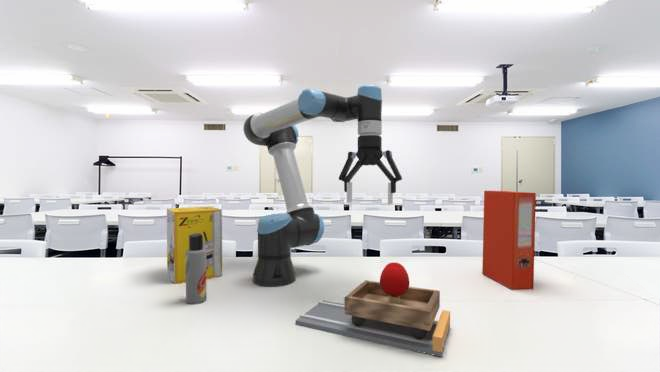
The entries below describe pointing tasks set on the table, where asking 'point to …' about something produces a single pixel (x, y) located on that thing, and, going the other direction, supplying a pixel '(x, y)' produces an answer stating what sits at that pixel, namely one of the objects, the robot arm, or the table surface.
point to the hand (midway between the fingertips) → (369, 203)
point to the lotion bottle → (196, 270)
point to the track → (376, 328)
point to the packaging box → (178, 232)
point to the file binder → (509, 238)
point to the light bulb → (394, 281)
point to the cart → (394, 307)
